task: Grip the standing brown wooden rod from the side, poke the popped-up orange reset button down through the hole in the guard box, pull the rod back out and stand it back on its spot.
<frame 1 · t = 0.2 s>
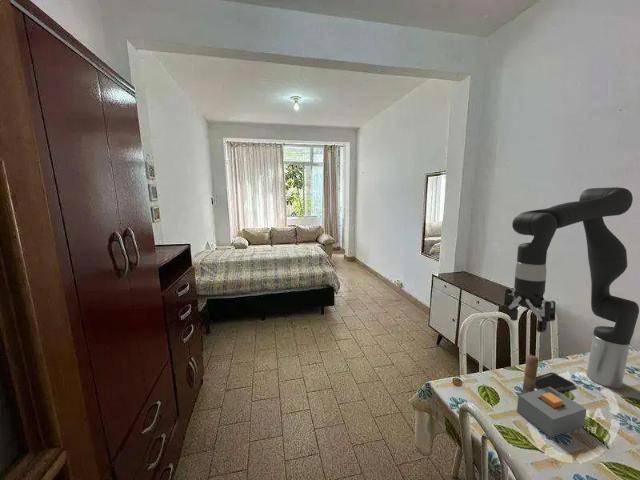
hand: (526, 325, 84), 29 cm above the table, tool pointing down, fingers open, 8 cm apart
guard box: (548, 418, 83), on the table
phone: (550, 385, 98), on the table
brown wooden rod: (527, 393, 93), on the table
reset button: (551, 403, 82), point 6 cm above the table, slide at 0.0 cm
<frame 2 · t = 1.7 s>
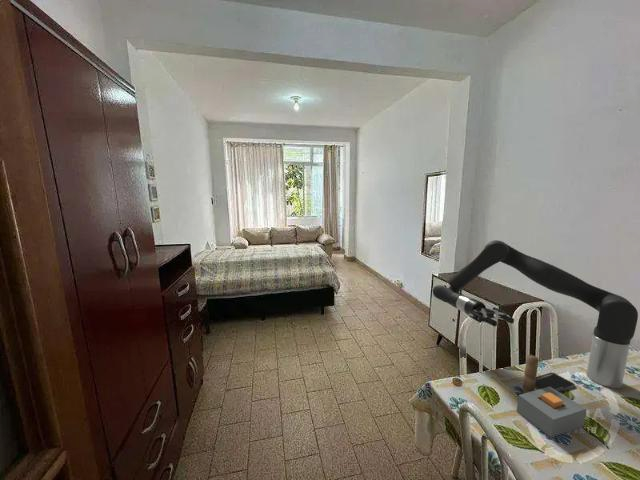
hand: (504, 322, 101), 22 cm above the table, tool horizontal, fingers open, 8 cm apart
nothing on the table moved.
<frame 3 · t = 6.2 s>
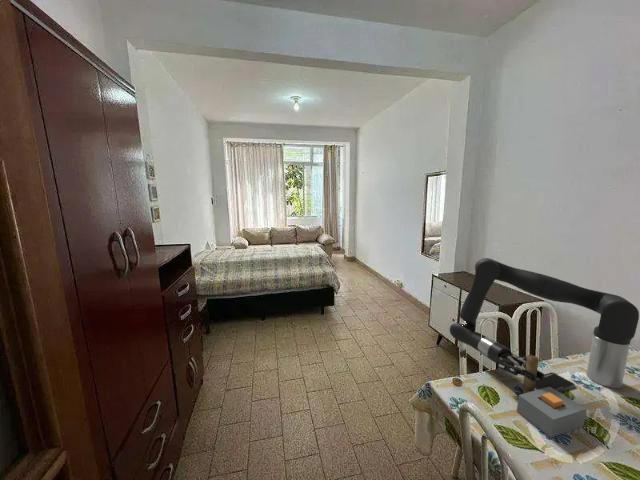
hand: (539, 378, 89), 8 cm above the table, tool horizontal, fingers closed on brown wooden rod, 3 cm apart
brown wooden rod: (528, 393, 93), on the table, touching gripper
everything else where it was.
when the fingers open (9 cm above the table, at t = 15.3 s): brown wooden rod stays where it is, on the table.
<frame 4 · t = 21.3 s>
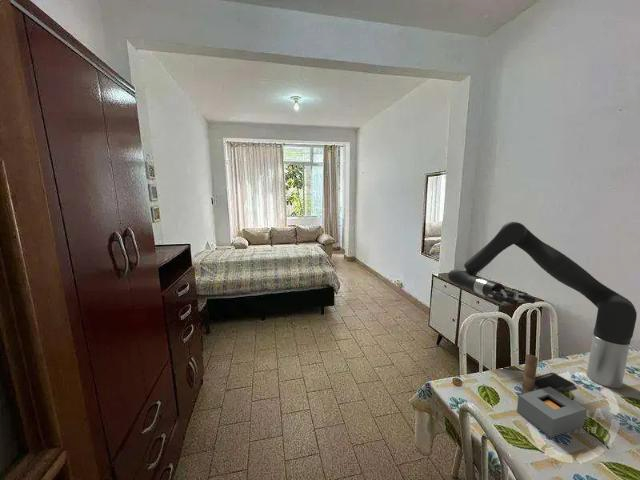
hand: (526, 302, 99), 30 cm above the table, tool horizontal, fingers open, 8 cm apart
brown wooden rod: (527, 393, 93), on the table
reset button: (550, 410, 82), point 3 cm above the table, slide at 2.7 cm
everything else where it was.
at the end: reset button slide at 2.7 cm; brown wooden rod tilted 1°; brown wooden rod inside the target area (0.9 cm from its centre), on the table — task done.
